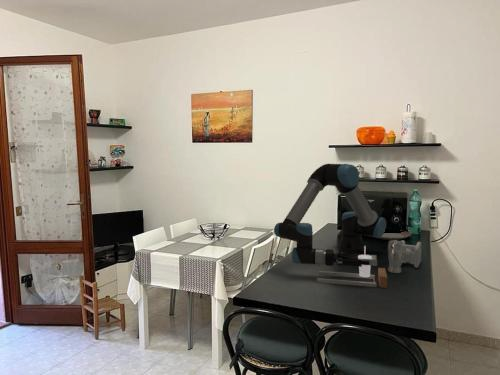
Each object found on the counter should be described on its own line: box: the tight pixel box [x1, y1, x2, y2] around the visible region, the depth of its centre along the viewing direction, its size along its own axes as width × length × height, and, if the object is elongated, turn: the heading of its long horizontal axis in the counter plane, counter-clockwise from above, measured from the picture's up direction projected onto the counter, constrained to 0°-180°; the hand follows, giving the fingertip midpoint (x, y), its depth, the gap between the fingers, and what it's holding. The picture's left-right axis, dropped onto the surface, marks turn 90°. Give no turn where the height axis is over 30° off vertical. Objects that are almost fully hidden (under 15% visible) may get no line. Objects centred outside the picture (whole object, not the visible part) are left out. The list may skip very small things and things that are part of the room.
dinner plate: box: [375, 230, 411, 241], centre depth 251 cm, size 27×27×3 cm
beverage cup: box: [358, 245, 372, 277], centre depth 168 cm, size 6×6×14 cm
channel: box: [316, 267, 388, 289], centre depth 170 cm, size 30×12×5 cm, turn 74°
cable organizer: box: [400, 239, 422, 269], centre depth 191 cm, size 15×11×12 cm
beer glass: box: [387, 240, 403, 274], centre depth 181 cm, size 7×7×15 cm
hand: (376, 260), depth 166 cm, fingers closed on beverage cup, 6 cm apart
